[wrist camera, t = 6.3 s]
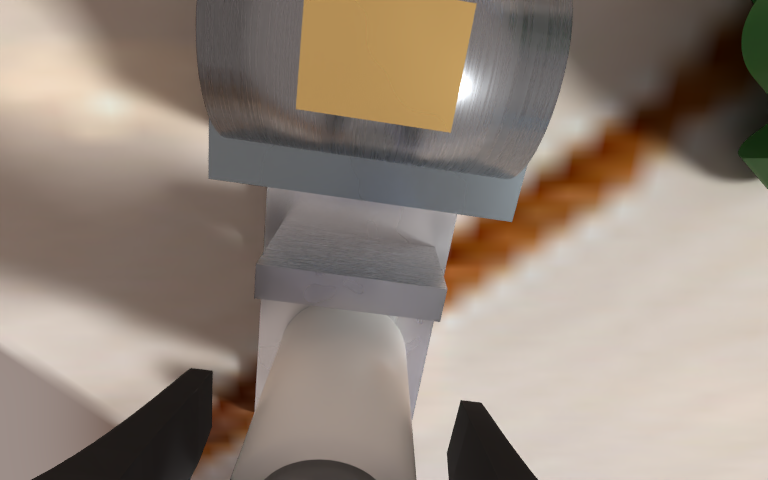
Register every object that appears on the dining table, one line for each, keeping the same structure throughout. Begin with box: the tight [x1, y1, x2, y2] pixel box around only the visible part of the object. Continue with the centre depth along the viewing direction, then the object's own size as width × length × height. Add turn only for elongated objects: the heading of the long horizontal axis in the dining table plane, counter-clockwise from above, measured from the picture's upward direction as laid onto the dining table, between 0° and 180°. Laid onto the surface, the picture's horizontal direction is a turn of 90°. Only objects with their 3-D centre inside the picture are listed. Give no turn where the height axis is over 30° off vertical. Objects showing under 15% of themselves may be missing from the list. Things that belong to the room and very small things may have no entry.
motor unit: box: [196, 0, 573, 420], centre depth 12 cm, size 17×7×7 cm, turn 172°
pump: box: [230, 306, 416, 480], centre depth 13 cm, size 4×4×7 cm
